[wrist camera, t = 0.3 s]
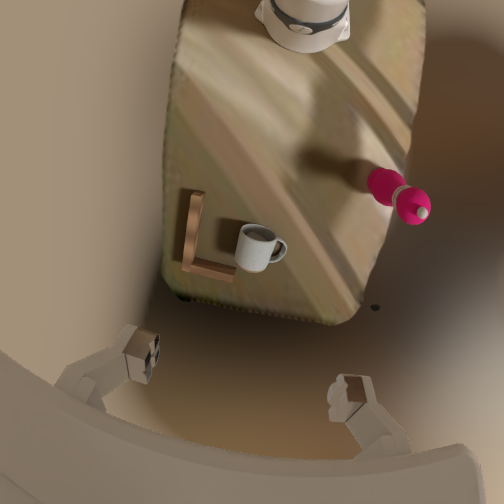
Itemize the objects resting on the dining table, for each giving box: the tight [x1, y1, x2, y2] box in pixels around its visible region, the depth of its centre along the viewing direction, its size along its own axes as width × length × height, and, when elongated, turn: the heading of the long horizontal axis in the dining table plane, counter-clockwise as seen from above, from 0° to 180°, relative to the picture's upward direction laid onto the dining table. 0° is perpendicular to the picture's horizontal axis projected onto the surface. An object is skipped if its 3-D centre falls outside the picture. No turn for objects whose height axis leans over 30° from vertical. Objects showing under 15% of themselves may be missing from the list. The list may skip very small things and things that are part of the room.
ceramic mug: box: [235, 224, 287, 273], centre depth 57 cm, size 11×8×8 cm
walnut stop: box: [182, 190, 236, 283], centre depth 59 cm, size 18×12×4 cm, turn 167°
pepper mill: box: [368, 168, 430, 225], centre depth 43 cm, size 7×7×20 cm
